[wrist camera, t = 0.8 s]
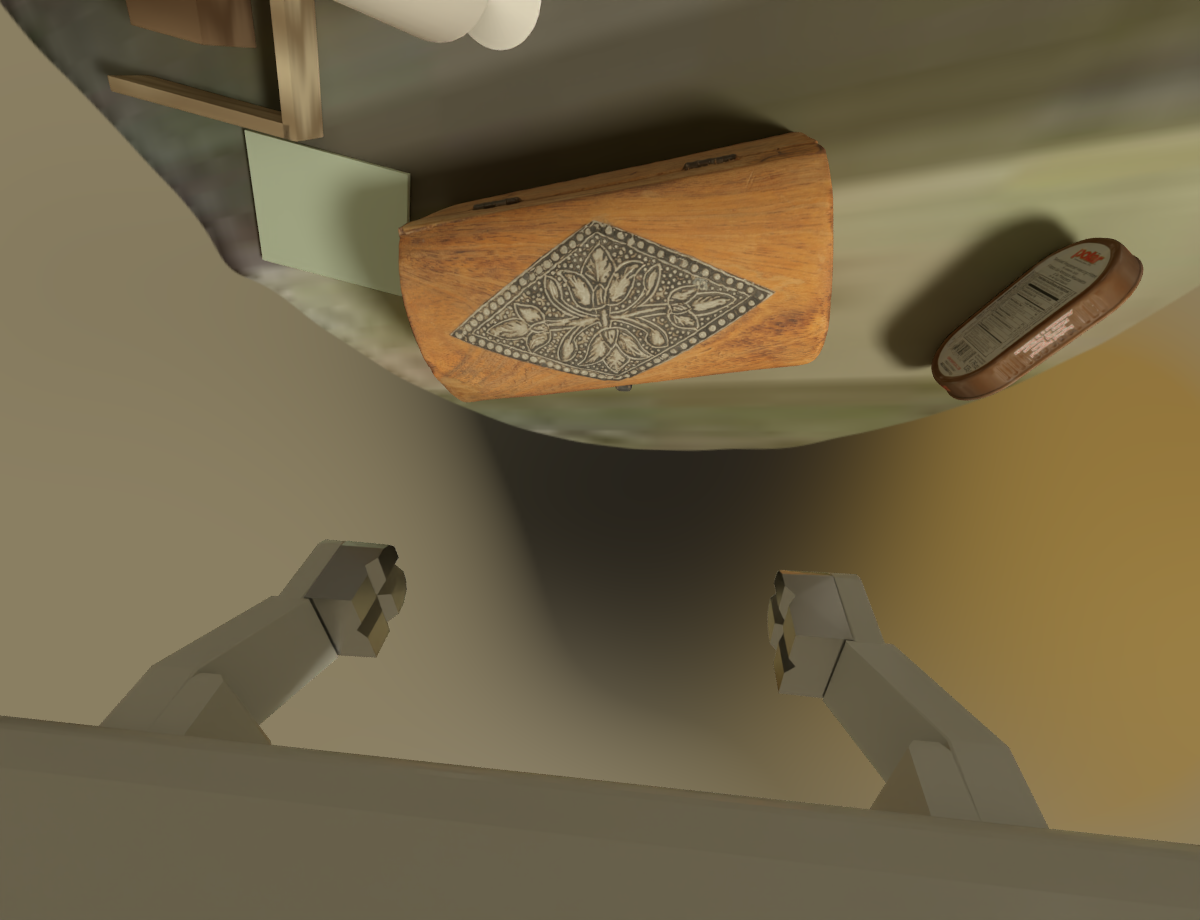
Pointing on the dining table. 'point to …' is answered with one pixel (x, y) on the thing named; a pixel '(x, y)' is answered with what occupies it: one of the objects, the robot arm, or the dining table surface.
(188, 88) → the birch u-shaped frame
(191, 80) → the dining table surface
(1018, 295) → the tin
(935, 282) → the dining table surface
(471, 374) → the wooden box
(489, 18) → the champagne flute
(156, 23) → the walnut block
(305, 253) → the felt mat
